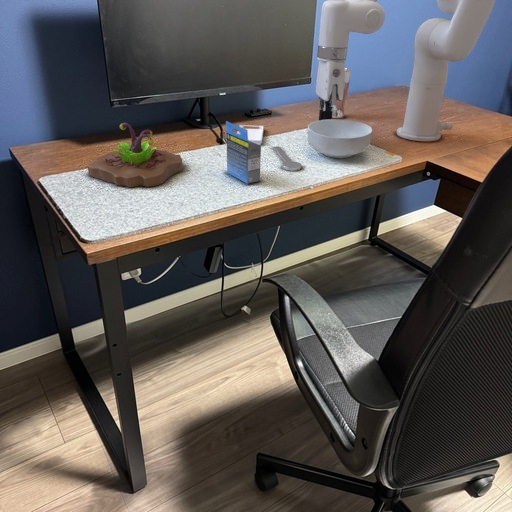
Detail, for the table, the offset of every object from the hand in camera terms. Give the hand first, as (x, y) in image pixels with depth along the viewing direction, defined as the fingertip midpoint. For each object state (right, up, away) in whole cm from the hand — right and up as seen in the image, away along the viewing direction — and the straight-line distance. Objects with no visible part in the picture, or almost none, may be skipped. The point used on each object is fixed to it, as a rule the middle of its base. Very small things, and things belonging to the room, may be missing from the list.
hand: (324, 124), depth 135 cm
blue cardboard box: (-22, -18, -22) cm, 36 cm away
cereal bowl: (+2, -10, -6) cm, 12 cm away
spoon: (-11, -12, -11) cm, 20 cm away
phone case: (-21, -2, +6) cm, 22 cm away
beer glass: (+7, +10, +28) cm, 31 cm away
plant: (-47, -16, -20) cm, 54 cm away
